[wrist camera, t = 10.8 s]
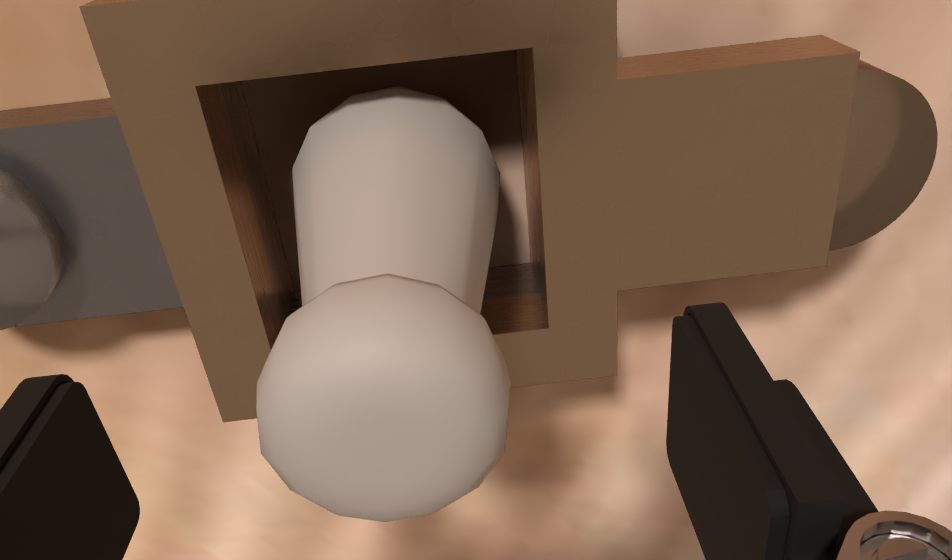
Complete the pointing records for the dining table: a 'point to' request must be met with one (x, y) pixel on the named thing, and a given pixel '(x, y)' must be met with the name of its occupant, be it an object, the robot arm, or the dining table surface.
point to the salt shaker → (388, 314)
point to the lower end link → (131, 217)
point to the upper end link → (551, 150)
